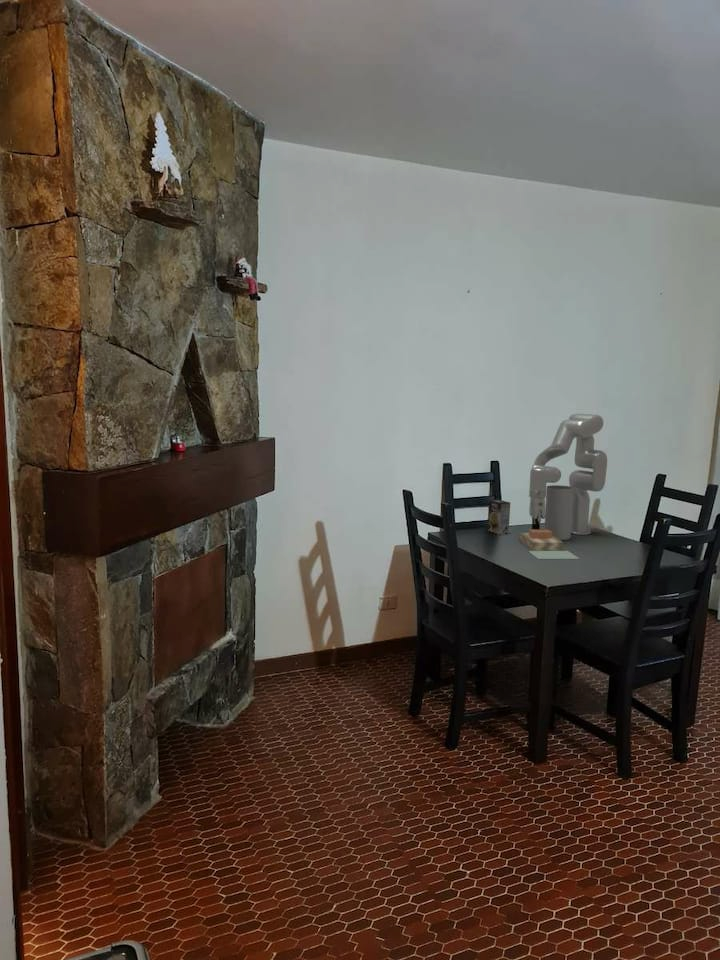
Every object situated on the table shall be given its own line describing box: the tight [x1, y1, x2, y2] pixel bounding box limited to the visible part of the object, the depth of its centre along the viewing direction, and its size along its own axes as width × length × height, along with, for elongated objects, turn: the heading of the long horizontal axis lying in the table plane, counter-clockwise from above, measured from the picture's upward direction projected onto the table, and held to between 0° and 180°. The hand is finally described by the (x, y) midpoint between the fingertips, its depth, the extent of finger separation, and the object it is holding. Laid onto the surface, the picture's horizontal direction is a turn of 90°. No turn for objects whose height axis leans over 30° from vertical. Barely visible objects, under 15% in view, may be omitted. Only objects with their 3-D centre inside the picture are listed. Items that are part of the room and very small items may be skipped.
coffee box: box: [487, 499, 511, 535], centre depth 350 cm, size 9×6×16 cm
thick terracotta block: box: [528, 528, 552, 539], centre depth 323 cm, size 9×6×3 cm, turn 94°
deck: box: [519, 532, 564, 551], centre depth 323 cm, size 14×20×4 cm
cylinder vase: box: [543, 484, 574, 541], centre depth 339 cm, size 12×12×25 cm
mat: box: [528, 550, 580, 560], centre depth 306 cm, size 18×14×1 cm
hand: (535, 532), depth 330 cm, fingers closed
